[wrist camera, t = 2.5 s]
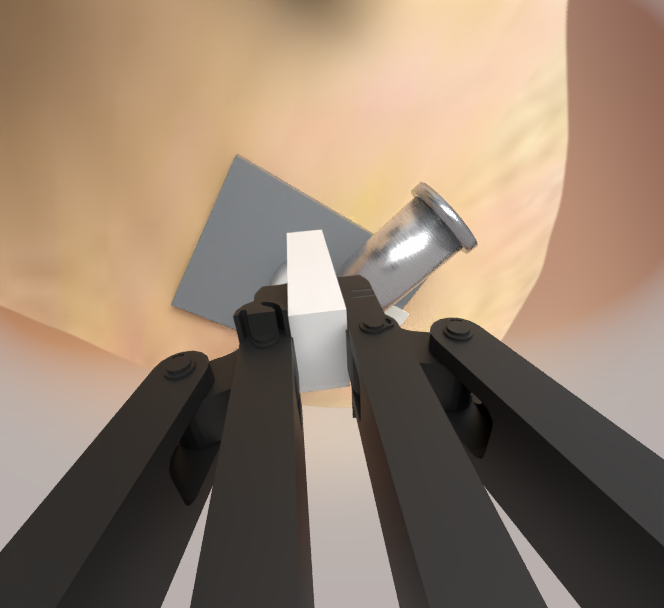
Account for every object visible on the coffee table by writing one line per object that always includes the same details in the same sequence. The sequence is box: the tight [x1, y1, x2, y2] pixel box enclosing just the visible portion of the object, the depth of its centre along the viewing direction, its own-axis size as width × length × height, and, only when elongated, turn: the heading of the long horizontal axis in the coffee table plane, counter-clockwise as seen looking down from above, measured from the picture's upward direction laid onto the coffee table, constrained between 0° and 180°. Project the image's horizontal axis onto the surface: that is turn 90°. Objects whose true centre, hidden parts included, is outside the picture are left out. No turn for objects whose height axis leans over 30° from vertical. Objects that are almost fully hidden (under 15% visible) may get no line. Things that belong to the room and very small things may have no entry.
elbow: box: [285, 182, 478, 313], centre depth 26 cm, size 18×8×6 cm, turn 134°
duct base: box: [171, 154, 428, 330], centre depth 32 cm, size 23×16×7 cm
